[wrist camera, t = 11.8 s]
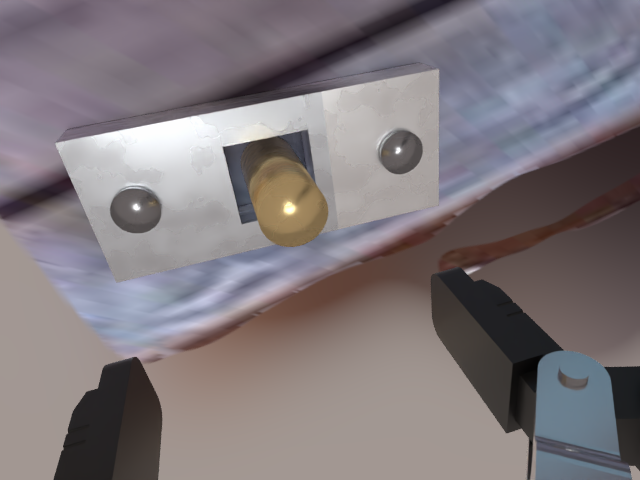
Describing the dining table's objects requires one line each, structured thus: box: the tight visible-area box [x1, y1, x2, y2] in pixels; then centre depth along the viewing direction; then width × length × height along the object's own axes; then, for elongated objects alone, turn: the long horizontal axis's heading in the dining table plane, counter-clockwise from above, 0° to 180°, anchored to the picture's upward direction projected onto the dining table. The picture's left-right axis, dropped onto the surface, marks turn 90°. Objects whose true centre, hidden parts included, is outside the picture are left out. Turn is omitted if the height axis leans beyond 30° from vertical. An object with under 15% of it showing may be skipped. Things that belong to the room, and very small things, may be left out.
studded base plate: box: [55, 63, 439, 282], centre depth 32 cm, size 24×10×4 cm, turn 97°
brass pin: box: [241, 136, 328, 247], centre depth 29 cm, size 4×4×9 cm
